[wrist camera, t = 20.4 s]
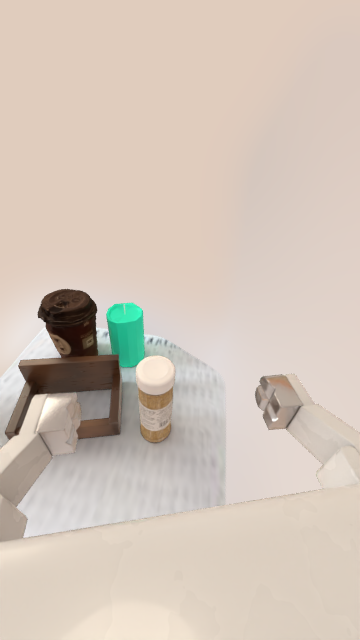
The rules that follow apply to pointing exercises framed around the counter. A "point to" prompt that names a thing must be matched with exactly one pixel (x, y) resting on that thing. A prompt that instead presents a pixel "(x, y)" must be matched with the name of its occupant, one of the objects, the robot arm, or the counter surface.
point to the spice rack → (71, 388)
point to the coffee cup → (70, 322)
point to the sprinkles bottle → (155, 396)
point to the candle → (126, 333)
